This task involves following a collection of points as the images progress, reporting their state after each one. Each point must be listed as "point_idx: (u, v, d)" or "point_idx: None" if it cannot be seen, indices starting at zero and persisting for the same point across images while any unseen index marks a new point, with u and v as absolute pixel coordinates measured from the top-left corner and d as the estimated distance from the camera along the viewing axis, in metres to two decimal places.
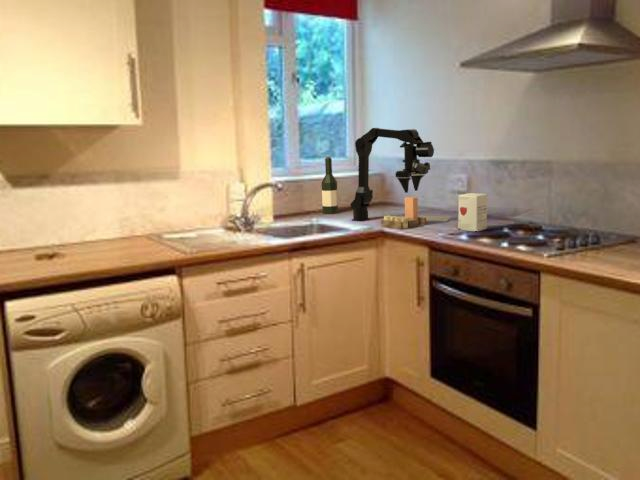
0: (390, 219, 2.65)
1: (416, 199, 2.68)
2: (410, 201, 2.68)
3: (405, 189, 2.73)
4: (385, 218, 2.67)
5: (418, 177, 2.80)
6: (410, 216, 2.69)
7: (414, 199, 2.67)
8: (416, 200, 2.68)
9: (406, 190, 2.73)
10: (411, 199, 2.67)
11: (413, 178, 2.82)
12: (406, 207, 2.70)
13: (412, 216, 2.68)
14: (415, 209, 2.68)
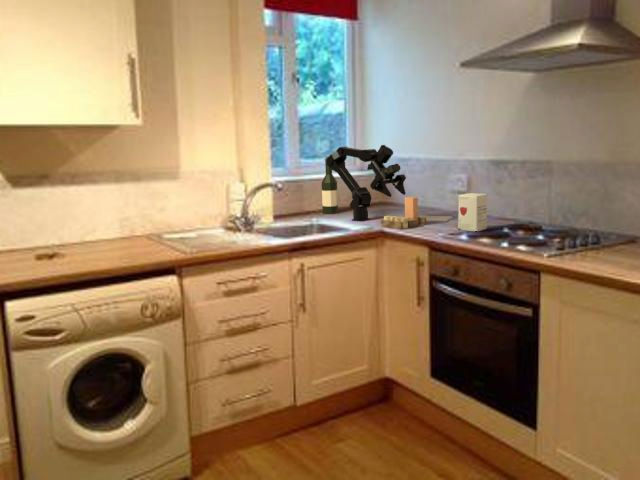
0: (390, 219, 2.65)
1: (416, 199, 2.68)
2: (410, 201, 2.68)
3: (387, 194, 2.73)
4: (385, 218, 2.67)
5: (399, 183, 2.80)
6: (410, 216, 2.69)
7: (414, 199, 2.67)
8: (416, 200, 2.68)
9: (389, 194, 2.73)
10: (411, 199, 2.67)
11: (397, 187, 2.82)
12: (406, 207, 2.70)
13: (412, 216, 2.68)
14: (415, 209, 2.68)
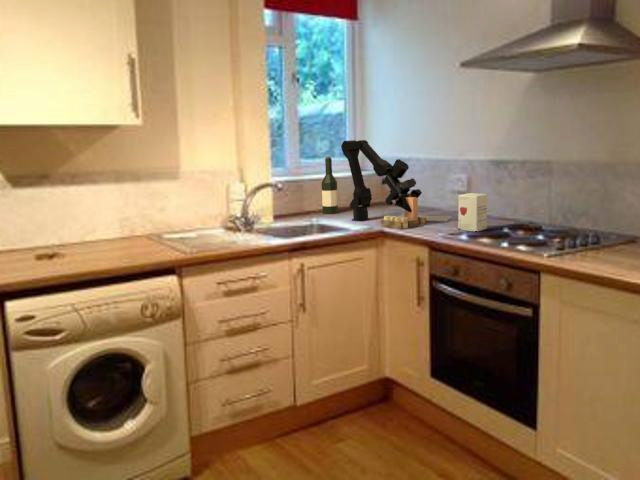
0: (390, 219, 2.65)
1: (416, 199, 2.68)
2: (410, 201, 2.68)
3: (408, 209, 2.69)
4: (385, 218, 2.67)
5: None
6: (410, 216, 2.69)
7: (414, 199, 2.67)
8: (416, 200, 2.68)
9: (409, 209, 2.68)
10: (411, 199, 2.67)
11: None
12: None
13: (412, 216, 2.68)
14: (415, 209, 2.68)
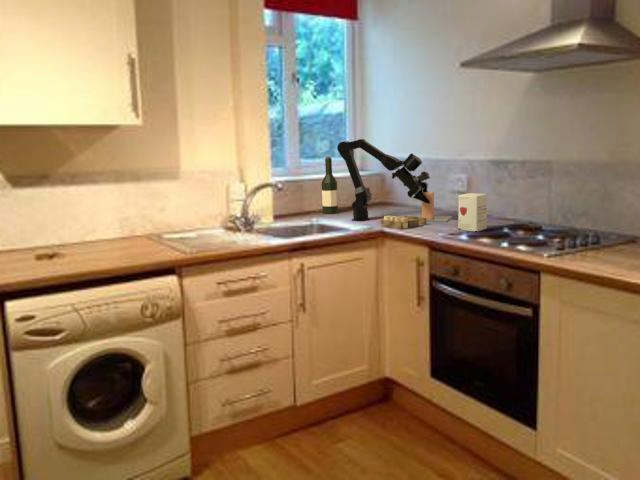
0: (390, 219, 2.65)
1: (433, 194, 2.82)
2: (429, 196, 2.80)
3: (426, 200, 2.79)
4: (385, 218, 2.67)
5: (424, 190, 2.86)
6: (428, 210, 2.82)
7: (432, 194, 2.80)
8: (433, 195, 2.82)
9: (427, 201, 2.79)
10: (430, 194, 2.80)
11: None
12: (423, 202, 2.82)
13: (431, 210, 2.81)
14: (433, 203, 2.82)
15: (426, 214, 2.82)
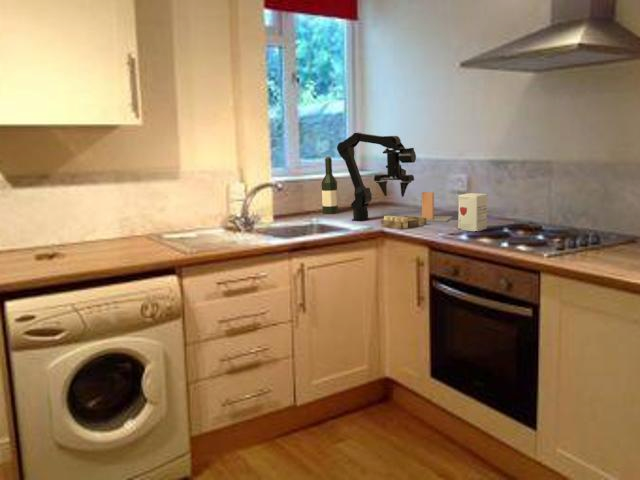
0: (390, 219, 2.65)
1: (433, 194, 2.82)
2: (429, 196, 2.80)
3: (403, 193, 2.82)
4: (385, 218, 2.67)
5: (385, 183, 2.89)
6: (428, 210, 2.82)
7: (432, 194, 2.80)
8: (433, 195, 2.82)
9: (403, 194, 2.83)
10: (430, 194, 2.80)
11: (383, 184, 2.87)
12: (423, 202, 2.82)
13: (431, 210, 2.81)
14: (433, 203, 2.82)
15: (426, 214, 2.82)
